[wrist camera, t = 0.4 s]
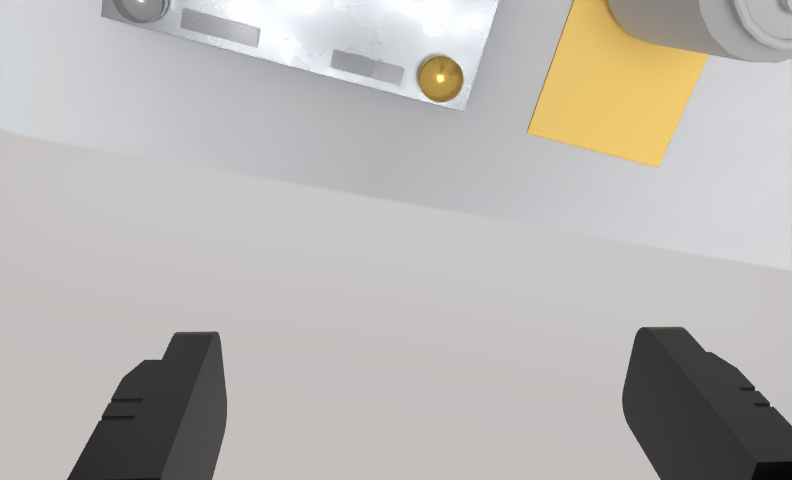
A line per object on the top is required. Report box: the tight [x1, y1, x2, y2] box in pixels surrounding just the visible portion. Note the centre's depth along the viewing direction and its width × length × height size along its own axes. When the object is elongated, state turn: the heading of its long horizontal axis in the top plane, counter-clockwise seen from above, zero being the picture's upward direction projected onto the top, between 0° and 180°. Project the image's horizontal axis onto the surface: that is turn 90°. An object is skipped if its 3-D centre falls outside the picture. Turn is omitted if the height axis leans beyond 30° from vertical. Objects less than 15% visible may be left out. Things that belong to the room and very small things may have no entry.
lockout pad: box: [527, 0, 709, 167], centre depth 37 cm, size 9×9×1 cm
